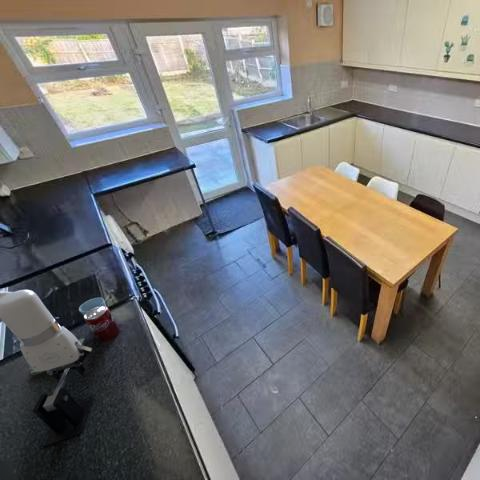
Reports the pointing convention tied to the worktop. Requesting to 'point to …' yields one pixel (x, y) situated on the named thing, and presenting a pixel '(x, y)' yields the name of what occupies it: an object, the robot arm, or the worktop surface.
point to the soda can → (102, 323)
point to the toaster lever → (58, 387)
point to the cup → (91, 305)
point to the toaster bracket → (63, 416)
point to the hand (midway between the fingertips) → (74, 374)
